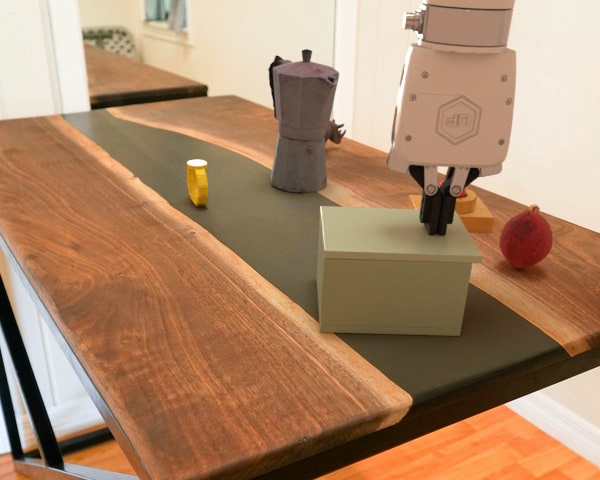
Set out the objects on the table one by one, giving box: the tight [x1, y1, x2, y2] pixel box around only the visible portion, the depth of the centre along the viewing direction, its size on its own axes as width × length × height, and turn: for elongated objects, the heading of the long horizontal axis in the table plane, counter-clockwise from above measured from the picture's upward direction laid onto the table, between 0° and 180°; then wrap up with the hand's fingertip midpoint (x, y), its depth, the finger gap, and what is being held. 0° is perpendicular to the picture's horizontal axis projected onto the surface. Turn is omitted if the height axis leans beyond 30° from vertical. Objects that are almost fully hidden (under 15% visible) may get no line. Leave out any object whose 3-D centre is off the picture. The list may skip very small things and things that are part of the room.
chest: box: [316, 217, 473, 337], centre depth 67 cm, size 14×12×8 cm
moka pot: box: [267, 48, 340, 194], centre depth 98 cm, size 10×15×20 cm, turn 42°
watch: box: [186, 159, 209, 207], centre depth 92 cm, size 6×3×6 cm, turn 24°
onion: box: [499, 204, 554, 271], centre depth 76 cm, size 6×6×8 cm
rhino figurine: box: [324, 118, 347, 145], centre depth 117 cm, size 4×14×6 cm, turn 129°
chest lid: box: [319, 205, 483, 264], centre depth 65 cm, size 14×12×1 cm
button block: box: [407, 185, 495, 233], centre depth 90 cm, size 10×8×4 cm
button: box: [438, 179, 468, 199], centre depth 89 cm, size 4×4×2 cm
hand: (434, 229), depth 65 cm, fingers closed
